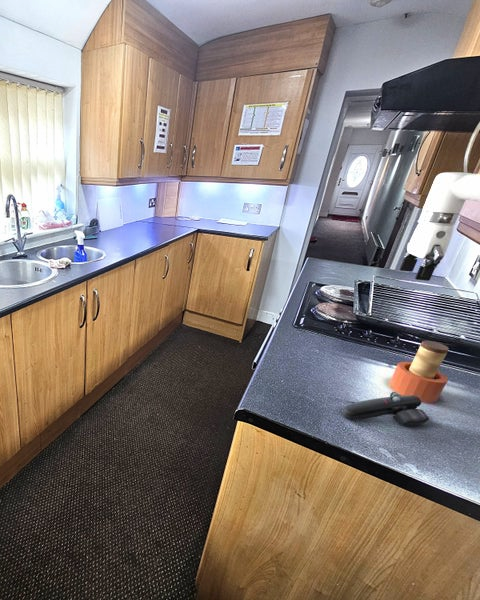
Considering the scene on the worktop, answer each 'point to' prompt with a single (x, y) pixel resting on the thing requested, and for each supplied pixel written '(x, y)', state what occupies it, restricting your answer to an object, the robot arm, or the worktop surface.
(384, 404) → the can opener
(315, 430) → the worktop surface
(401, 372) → the bowl
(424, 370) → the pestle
